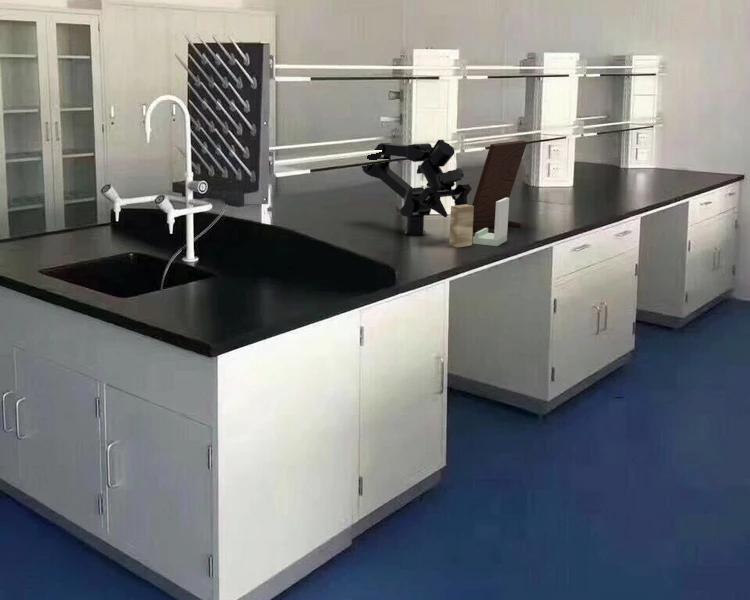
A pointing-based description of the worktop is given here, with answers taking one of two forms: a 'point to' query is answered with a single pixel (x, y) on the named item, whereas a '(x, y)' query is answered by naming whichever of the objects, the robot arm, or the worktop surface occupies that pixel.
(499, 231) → the picture ledge
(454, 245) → the oak photo frame
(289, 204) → the worktop surface
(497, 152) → the picture frame
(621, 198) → the worktop surface
